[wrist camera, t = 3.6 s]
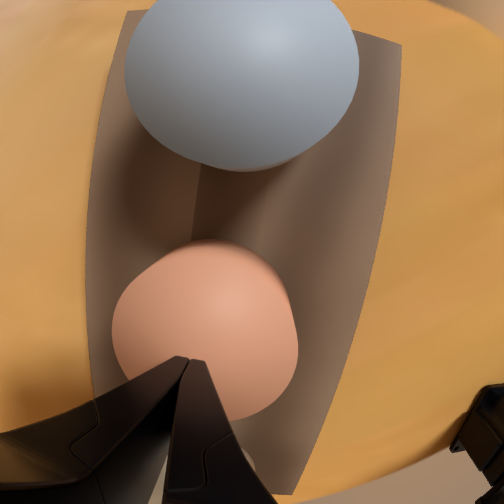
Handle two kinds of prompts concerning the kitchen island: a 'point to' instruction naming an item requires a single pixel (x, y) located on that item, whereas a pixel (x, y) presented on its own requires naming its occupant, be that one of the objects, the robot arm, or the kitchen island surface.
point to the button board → (251, 238)
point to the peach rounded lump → (211, 322)
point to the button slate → (241, 78)
